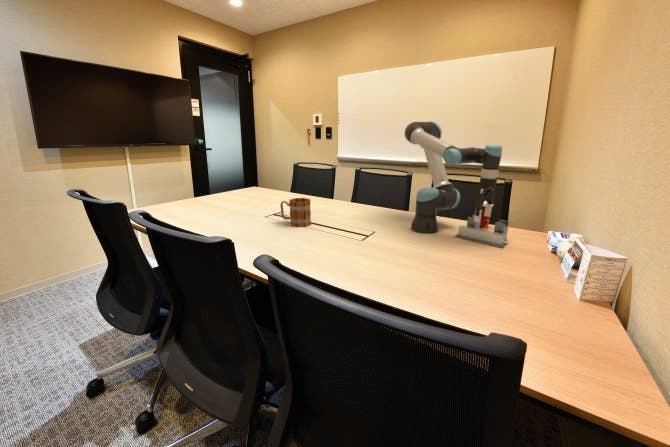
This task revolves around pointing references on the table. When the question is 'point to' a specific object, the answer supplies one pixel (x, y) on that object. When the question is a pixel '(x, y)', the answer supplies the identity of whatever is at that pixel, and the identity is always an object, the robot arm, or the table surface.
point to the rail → (481, 235)
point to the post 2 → (501, 227)
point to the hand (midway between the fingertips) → (482, 219)
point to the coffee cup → (484, 217)
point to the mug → (298, 212)
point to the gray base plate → (481, 241)
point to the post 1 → (473, 222)
